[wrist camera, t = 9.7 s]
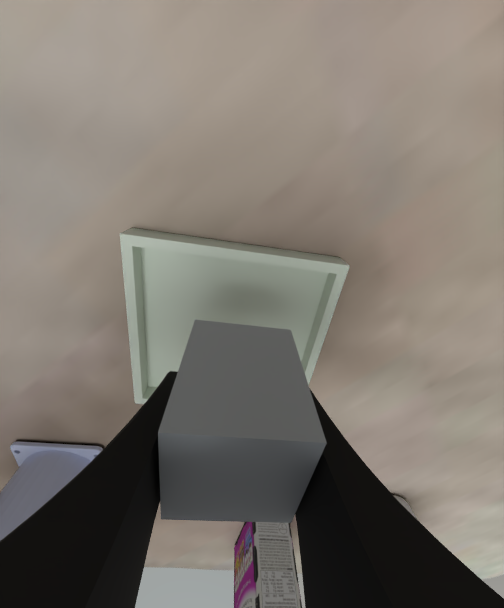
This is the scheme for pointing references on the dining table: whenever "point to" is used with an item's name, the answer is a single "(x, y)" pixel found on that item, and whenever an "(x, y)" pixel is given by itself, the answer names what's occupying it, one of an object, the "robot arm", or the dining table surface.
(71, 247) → the dining table surface
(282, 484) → the grey block
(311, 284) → the tray
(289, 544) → the candy bar box
